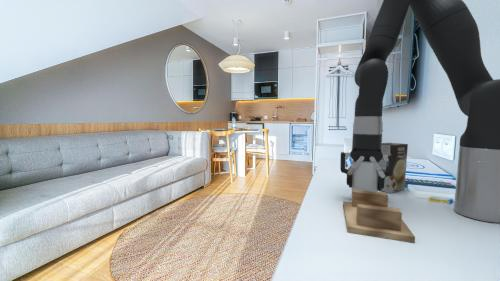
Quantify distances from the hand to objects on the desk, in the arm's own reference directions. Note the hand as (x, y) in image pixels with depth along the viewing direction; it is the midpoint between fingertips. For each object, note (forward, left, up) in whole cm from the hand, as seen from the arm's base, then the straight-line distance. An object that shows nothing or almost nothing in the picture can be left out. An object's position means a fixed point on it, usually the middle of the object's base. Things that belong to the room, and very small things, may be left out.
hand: (364, 188), depth 65 cm
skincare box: (0, 0, -4) cm, 4 cm away
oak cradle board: (0, +14, -4) cm, 15 cm away
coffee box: (-10, -16, -4) cm, 19 cm away
